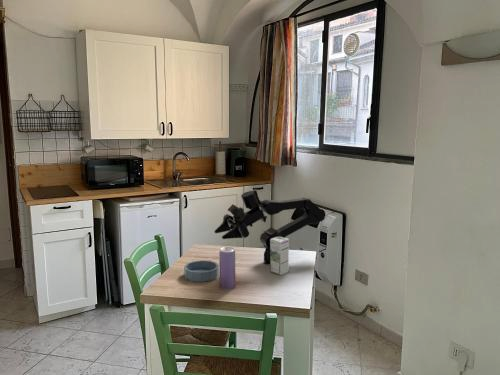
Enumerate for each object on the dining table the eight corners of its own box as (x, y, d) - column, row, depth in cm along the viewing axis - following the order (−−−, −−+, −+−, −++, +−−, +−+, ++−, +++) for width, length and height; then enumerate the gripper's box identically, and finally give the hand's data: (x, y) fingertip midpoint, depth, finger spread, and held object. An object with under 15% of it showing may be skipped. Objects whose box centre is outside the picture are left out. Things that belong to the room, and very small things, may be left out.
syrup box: (289, 271, 170) (289, 238, 168) (280, 275, 166) (280, 241, 163) (278, 268, 174) (278, 235, 172) (269, 272, 170) (269, 238, 167)
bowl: (221, 270, 172) (221, 261, 171) (213, 282, 158) (213, 273, 158) (190, 268, 174) (190, 259, 173) (180, 280, 160) (180, 271, 160)
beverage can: (229, 291, 150) (229, 252, 148) (216, 288, 153) (216, 250, 151) (238, 286, 155) (238, 248, 153) (225, 283, 158) (225, 246, 156)
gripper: (235, 197, 179) (204, 213, 174) (252, 205, 162) (218, 223, 158) (244, 219, 183) (213, 235, 178) (262, 229, 166) (229, 247, 161)
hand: (218, 235), depth 168 cm, fingers open, 9 cm apart
